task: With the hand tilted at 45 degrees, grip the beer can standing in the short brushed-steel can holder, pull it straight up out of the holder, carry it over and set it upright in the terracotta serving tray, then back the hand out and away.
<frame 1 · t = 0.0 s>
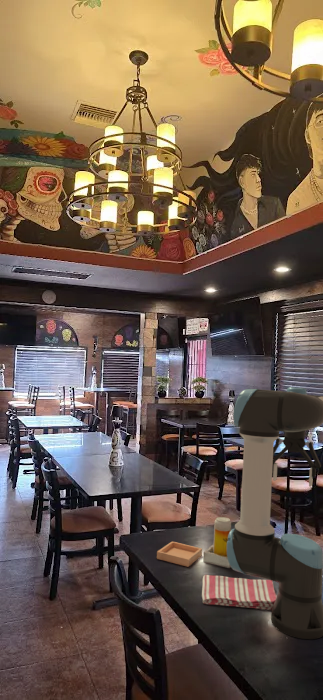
hand: (292, 482, 185), 28 cm above the table, tool pointing down, fingers open, 13 cm apart
serving tray: (179, 556, 178), on the table
dish towel: (238, 596, 151), on the table
beer can: (220, 560, 177), resting in can holder
can holder: (220, 560, 177), on the table
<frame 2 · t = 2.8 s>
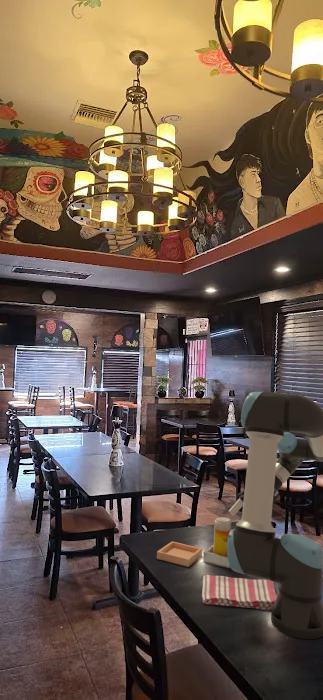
hand: (240, 519, 181), 14 cm above the table, tool tilted 45°, fingers open, 13 cm apart
nothing on the table moved.
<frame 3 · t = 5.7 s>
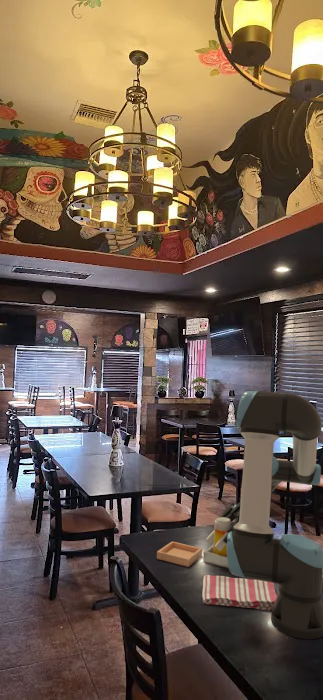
hand: (213, 545, 175), 6 cm above the table, tool tilted 45°, fingers closed on beer can, 6 cm apart
beer can: (220, 560, 177), resting in can holder, touching gripper
everything else where it was.
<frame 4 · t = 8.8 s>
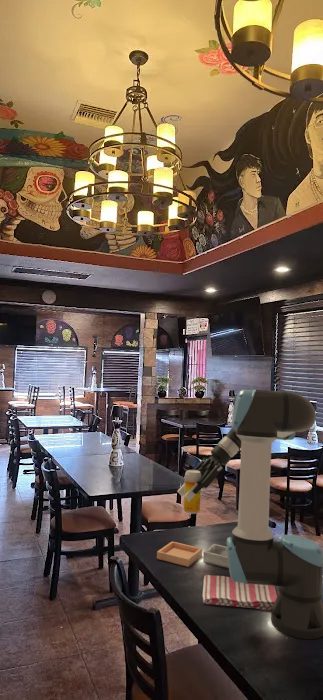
hand: (183, 496, 178), 22 cm above the table, tool tilted 45°, fingers closed on beer can, 6 cm apart
beer can: (191, 512, 179), point 16 cm above the table, touching gripper
everything else where it was.
when the fingers open (8 cm above the table, at t = 12.1 s): beer can drops 1 cm, resting on serving tray.
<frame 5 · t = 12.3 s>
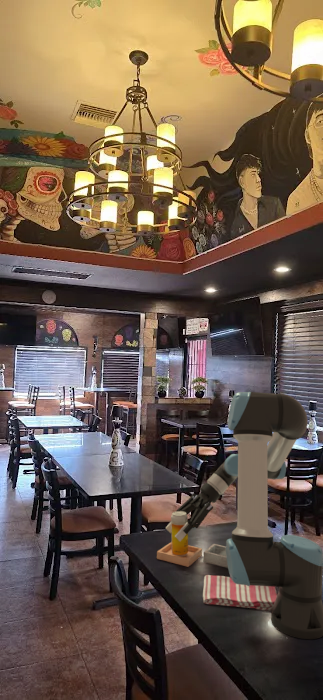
hand: (172, 534, 177), 8 cm above the table, tool tilted 45°, fingers open, 8 cm apart
beer can: (179, 554, 178), point 1 cm above the table, touching serving tray
everything else where it was.
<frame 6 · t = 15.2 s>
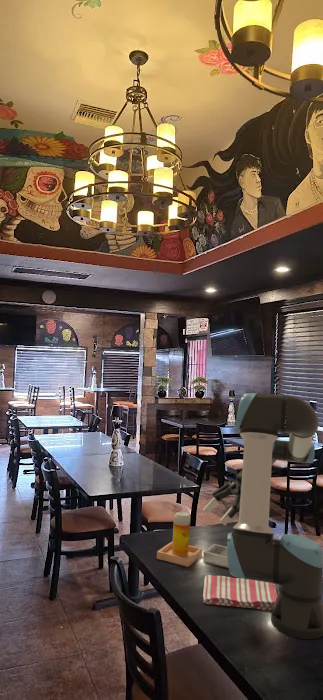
hand: (213, 517, 183), 14 cm above the table, tool tilted 45°, fingers open, 13 cm apart
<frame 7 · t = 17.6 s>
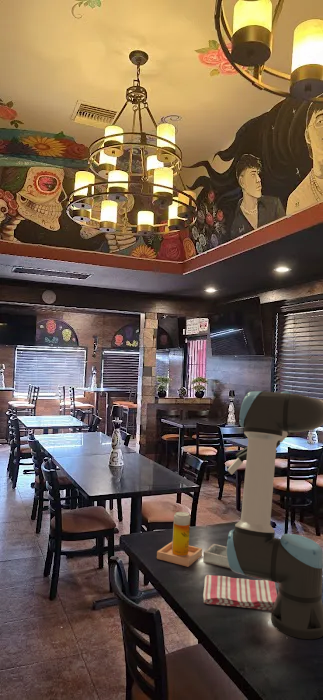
hand: (238, 476, 184), 30 cm above the table, tool tilted 45°, fingers open, 13 cm apart
nothing on the table moved.
at the end: beer can inside the target area on the serving tray (0.1 cm from its centre), point 0.6 cm above the serving tray's base; beer can tilted 0°; the gripper is holding nothing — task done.
